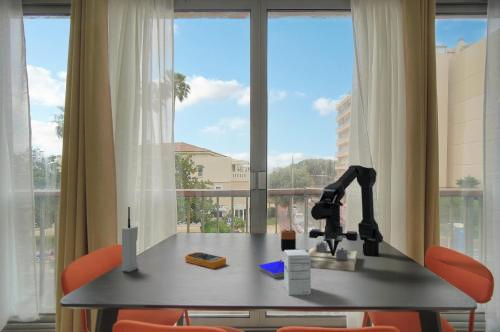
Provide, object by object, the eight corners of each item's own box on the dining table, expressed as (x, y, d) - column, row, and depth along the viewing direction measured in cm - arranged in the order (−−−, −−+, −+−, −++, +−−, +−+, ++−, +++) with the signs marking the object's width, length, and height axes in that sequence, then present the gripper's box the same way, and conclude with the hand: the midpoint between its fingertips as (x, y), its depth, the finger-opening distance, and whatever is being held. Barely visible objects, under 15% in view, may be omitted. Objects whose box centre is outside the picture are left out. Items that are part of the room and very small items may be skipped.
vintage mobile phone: (138, 268, 138) (137, 205, 138) (129, 272, 133) (129, 207, 133) (130, 267, 139) (130, 205, 139) (121, 271, 134) (121, 207, 134)
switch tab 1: (327, 250, 154) (327, 241, 154) (325, 252, 149) (325, 243, 149) (318, 249, 155) (318, 240, 155) (316, 251, 150) (316, 243, 150)
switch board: (356, 258, 152) (356, 251, 152) (353, 271, 133) (353, 263, 133) (311, 254, 158) (311, 247, 158) (302, 266, 140) (302, 258, 140)
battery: (295, 251, 165) (295, 230, 165) (281, 251, 165) (281, 230, 165) (294, 248, 170) (294, 228, 170) (280, 249, 169) (280, 228, 169)
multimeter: (197, 258, 154) (197, 250, 154) (227, 265, 143) (227, 257, 143) (182, 262, 147) (182, 254, 147) (212, 270, 136) (212, 261, 136)
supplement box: (283, 287, 115) (283, 249, 115) (305, 286, 116) (305, 249, 116) (288, 295, 108) (287, 255, 108) (311, 294, 109) (311, 254, 109)
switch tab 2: (347, 257, 141) (347, 248, 141) (346, 260, 136) (346, 250, 136) (337, 256, 142) (337, 247, 142) (336, 259, 138) (336, 250, 138)
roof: (273, 280, 124) (273, 265, 124) (257, 271, 134) (257, 257, 134) (300, 275, 129) (300, 260, 129) (283, 267, 140) (283, 253, 140)
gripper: (306, 219, 136) (306, 258, 136) (355, 221, 130) (355, 263, 130) (311, 215, 147) (311, 252, 147) (357, 217, 140) (357, 256, 140)
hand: (333, 255), depth 140 cm, fingers closed
